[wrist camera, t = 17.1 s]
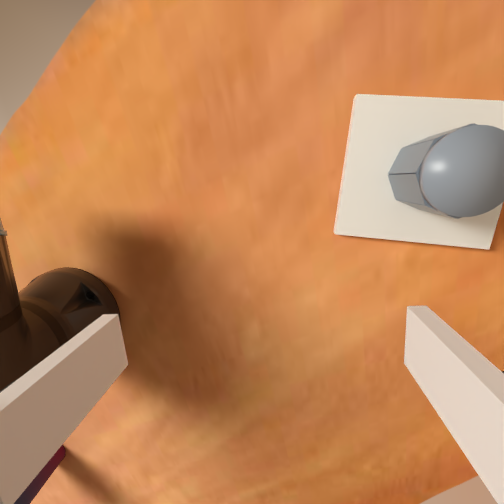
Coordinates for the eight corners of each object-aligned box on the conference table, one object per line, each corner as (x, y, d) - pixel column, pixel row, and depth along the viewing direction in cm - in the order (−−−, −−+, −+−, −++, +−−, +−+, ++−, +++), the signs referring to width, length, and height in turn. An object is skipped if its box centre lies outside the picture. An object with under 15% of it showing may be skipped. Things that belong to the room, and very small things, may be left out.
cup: (39, 459, 56) (-49, 557, 42) (35, 431, 54) (-58, 523, 40) (71, 466, 55) (-7, 568, 41) (68, 438, 53) (-14, 533, 39)
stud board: (333, 232, 38) (343, 244, 31) (353, 97, 34) (370, 75, 26) (481, 246, 36) (529, 263, 29) (522, 105, 32) (590, 84, 24)
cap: (468, 192, 33) (530, 197, 24) (400, 217, 35) (436, 229, 26) (451, 127, 32) (510, 108, 23) (381, 156, 33) (412, 148, 25)
